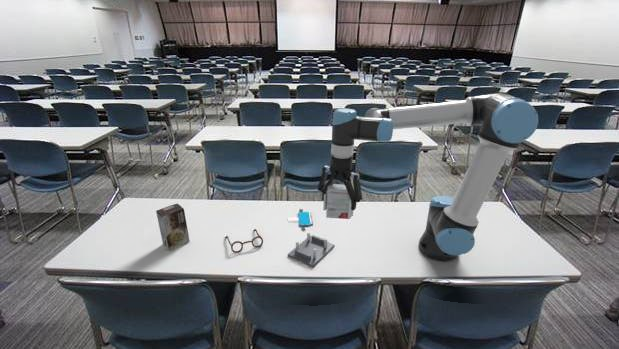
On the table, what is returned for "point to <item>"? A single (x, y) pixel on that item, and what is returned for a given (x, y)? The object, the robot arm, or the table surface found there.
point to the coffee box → (173, 226)
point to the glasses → (245, 242)
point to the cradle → (311, 250)
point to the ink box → (337, 201)
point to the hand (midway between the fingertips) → (337, 212)
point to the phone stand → (302, 219)
